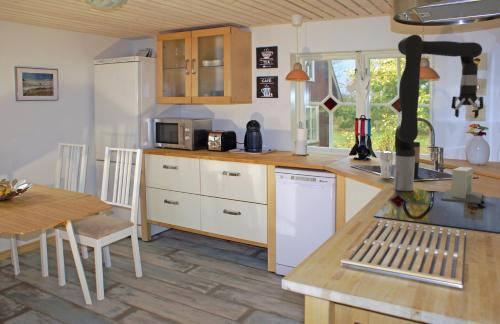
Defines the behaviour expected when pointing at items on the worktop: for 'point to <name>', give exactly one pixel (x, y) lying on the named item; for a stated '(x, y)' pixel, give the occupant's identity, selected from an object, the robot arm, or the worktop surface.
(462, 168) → the tall sage green block
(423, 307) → the worktop surface
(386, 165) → the beer glass
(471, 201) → the mat
